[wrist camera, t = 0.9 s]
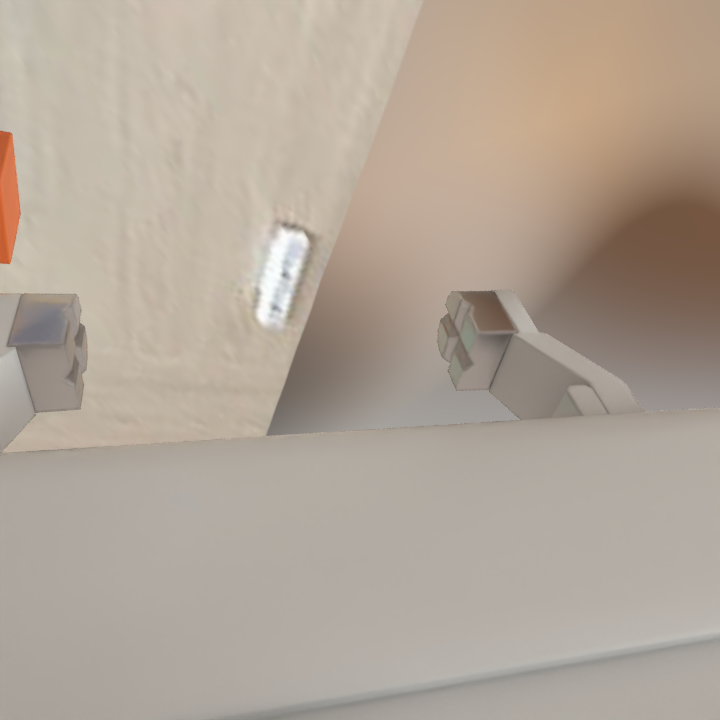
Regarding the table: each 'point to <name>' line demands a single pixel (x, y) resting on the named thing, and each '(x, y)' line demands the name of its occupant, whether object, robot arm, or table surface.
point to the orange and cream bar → (8, 198)
